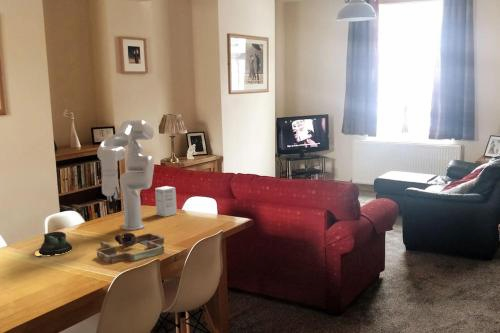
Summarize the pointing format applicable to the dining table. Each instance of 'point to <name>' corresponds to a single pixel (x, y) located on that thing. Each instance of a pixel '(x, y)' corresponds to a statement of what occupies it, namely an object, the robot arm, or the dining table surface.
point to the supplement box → (166, 201)
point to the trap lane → (146, 239)
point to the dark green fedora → (54, 244)
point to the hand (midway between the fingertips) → (112, 208)
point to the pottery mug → (126, 240)
